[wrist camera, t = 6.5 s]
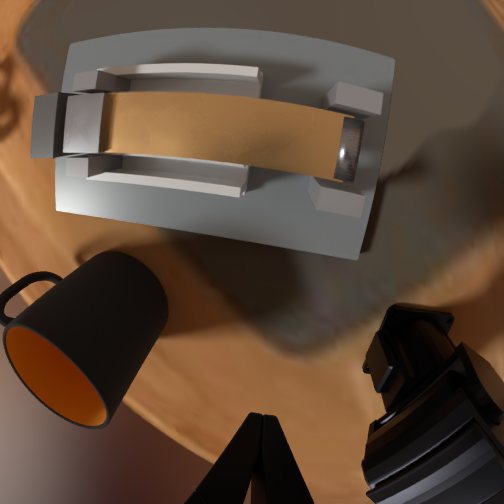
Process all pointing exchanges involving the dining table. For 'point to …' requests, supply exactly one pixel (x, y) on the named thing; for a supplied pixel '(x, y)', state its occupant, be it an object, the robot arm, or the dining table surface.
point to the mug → (85, 336)
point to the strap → (216, 131)
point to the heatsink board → (213, 172)
